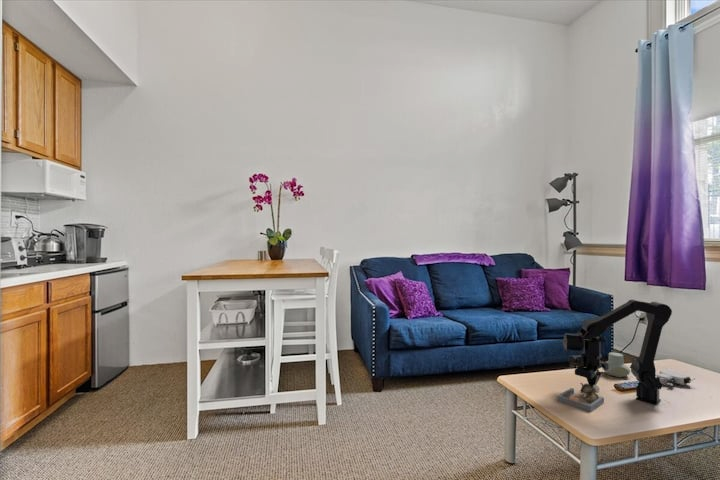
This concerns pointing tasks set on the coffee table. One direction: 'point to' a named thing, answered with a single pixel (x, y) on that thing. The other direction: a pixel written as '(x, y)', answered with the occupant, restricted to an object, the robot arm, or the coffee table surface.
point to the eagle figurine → (590, 392)
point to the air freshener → (617, 365)
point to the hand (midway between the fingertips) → (591, 389)
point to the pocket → (576, 403)
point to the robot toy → (673, 377)
